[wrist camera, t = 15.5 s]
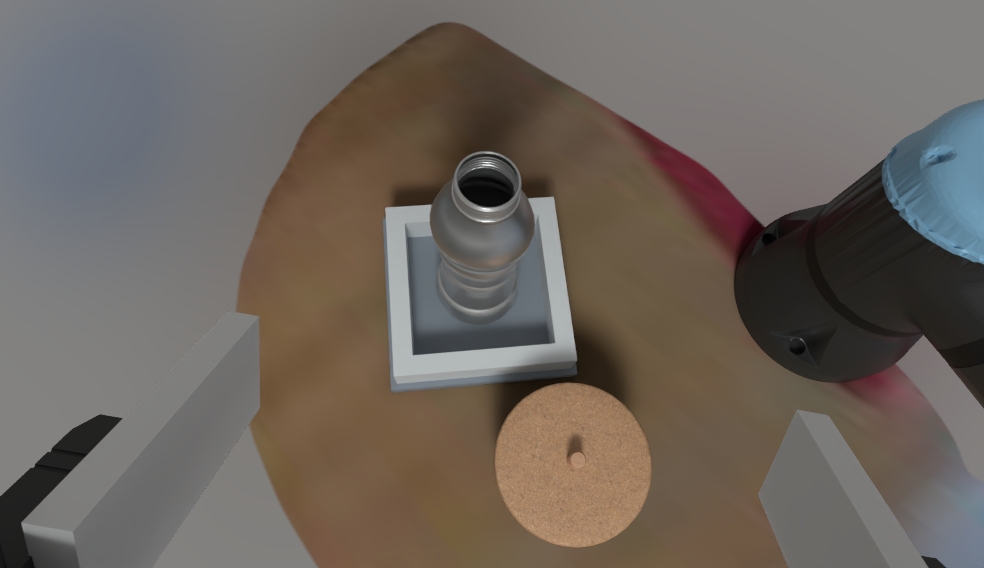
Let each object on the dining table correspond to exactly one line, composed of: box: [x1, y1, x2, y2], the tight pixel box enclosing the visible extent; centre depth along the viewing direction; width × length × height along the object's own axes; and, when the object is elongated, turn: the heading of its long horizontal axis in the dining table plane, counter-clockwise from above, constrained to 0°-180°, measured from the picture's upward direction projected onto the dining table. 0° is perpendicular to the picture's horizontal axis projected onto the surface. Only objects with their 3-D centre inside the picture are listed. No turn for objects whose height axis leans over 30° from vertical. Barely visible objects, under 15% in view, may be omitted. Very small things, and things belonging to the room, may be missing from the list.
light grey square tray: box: [383, 197, 577, 393], centre depth 52 cm, size 15×15×4 cm
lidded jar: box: [494, 382, 652, 547], centre depth 45 cm, size 11×11×9 cm
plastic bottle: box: [430, 151, 535, 325], centre depth 43 cm, size 6×7×20 cm
